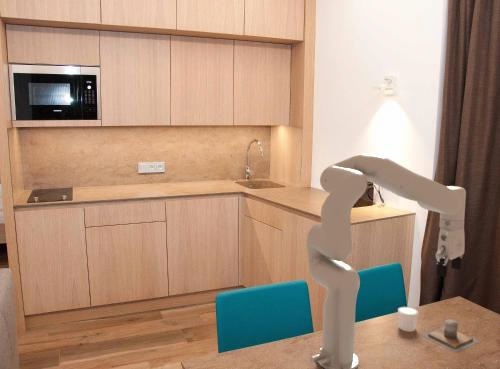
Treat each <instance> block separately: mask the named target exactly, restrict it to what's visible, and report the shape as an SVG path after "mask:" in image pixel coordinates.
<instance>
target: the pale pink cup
mask: <svg viewBox="0 0 500 369" xmlns="http://www.w3.org/2000/svg"><path fill="white" fill-rule="evenodd" d="M418 316H419V311H418V310H417V309H416V308H414V307H410V306H401V307H398V308H397V318H398V319H397V320H398V328H399V330H401V331H404V332H415V331H416V329H417V324H418Z"/></svg>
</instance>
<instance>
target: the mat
mask: <svg viewBox="0 0 500 369" xmlns="http://www.w3.org/2000/svg"><path fill="white" fill-rule="evenodd" d="M444 327H445V325H444V326H442V327H439V328H437V329H435V330H432V331H429V332H427V333H425V334H422V335H421V337H424V338H425V339H427V340H430V341H431V342H433V343H436V344H438V345H440V346H442V347H444V348H446V349H448V350H450V351H452V352H454V353H458V352H460V351H462V350H465V349H466V348H469V347H470V346H473V345H475V344H477V343H479V342H480V340H477V339H475V338H473V341H471V342H469V343H467V344H464V345H462V346H460V347H458V348H455V349H454V348H452V347H450V346H448V345H446V344H443V343H441V342H439V341H437V340H435V339H433V338H431V337H429V336H428V334H429V333H432V332H434V331H437V330H439V329H442V328H444Z"/></svg>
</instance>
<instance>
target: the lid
mask: <svg viewBox="0 0 500 369" xmlns="http://www.w3.org/2000/svg"><path fill="white" fill-rule="evenodd" d="M444 326H445V327H444ZM444 326H443V327H444V328H442V327H441V328H442V329H439V328H438V329H439V330H437V329H436V330H437V331H434V330H433V331H434V332H432V331H431V332H432V333H429V332H428V333H429V334H428V336H429V337H431V338H433V339H435V340H437V341H439V342H441V343H443V344H446V345H448V346H450V347H452V348H454V349H455V348H458V347H460V346H462V345H464V344H467V343H469V342H471V341H473V339H474V338H472V337H470V336H468V335H465V334H464V333H461V332H459V331H458V326H459V323H458V321H456V320H453V319H446V320H444Z"/></svg>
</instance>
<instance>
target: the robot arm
mask: <svg viewBox="0 0 500 369" xmlns="http://www.w3.org/2000/svg"><path fill="white" fill-rule="evenodd" d="M368 182H370V183H372V184H374V185H376V186H379V187H380V188H382V189H385V190H387V191H388V192H390V193H392V194H395V195H396V196H398V197H400V198H403V199H407V200H410V201H414V202H416V203H417V204H418V205H419V207H421V208H423V209H424V210H427V211H430V212H431V211H432V212H436V213H439V224H438V225H439V226H438V227H439V228H440V229H439V233H438V241H437V251H436V253H435V260H436V275H437V276H440V277H443V278H446V277H448V265H447V264H448V262H449V260H451V263H450V264H451V265H450V266H451V267H450V268H451V269H454V270H457V271H461V270H462V262H463V261H462V259H463V255H464V254H465V247H466V246H465V245H466V244H465V243H466V242H465V238H466V236H465V213H466V212H465V211H466V198H467V191H466V189H465V188H464V187H461V186H457V185H456V186H455V185H449V186H448V185H447V186H446V185H444V184H442V183H440V182H437V181H435V180H432V179H430V178H428V177H426V176H423V175H421V174H419V173H417V172H414V171H413V170H410V169H408V168H406V167H404V166H402V165H401V164H398V163H397V162H395V161H393V160H391V159H390V158H388V157H386V156H382V155H379V154H371V153H370V154H369V153H360V154H356V155H353V156H350V157H348V158H346V159H343V160H341V161H338V162H336V163H333V164H331V165H329V166H327V167H325V169H324V170H323V171H322V172H321V174H320V179H319V183H320V186H321V188H322V189H323V190H324V191H325V192H326V193H328V196H326V198H325V200H324V202H323V204H322V206H321V209H320V222H317V223H315V224H313V225H312V226H311V228H309V231H308V233H307V237H306V251H307V260H308V268H309V273H310V276H311V278H312V279H313V281H314V282H316V283H317V284H318V285H320V286H321V287H323V288H324V289H326V291H327V296H326V297H325V300H324V301H323V306H322V307H323V308H322V309H323V310H322V312H323V313H322V343H321V344H322V347H320V348H319V352H318V353H317V354H314V355H311V356H310V357H309V361H310V362H311V363H312V364H314V363H318V365H319V366H320V367H322V368H323V369H357V368H358V366H359V358H358V356H357V355H356V354H355V353H354V350H355V348H354V347H355V323H356V304H357V297H358V292H359V289H360V284H361V281H360V275H359V274H358V272H357V271H356V269H354V267H352V266H351V265H349V264H348V263H345V262H344V261H346V260H348V259H349V258H350V257H351V255H352V252H353V238H352V237H353V236H352V225H351V223H352V222H351V214H352V211H353V210H352V209H353V207H354V205H355V204H356V203H357V202H358V201H359V199H360V198H362V196H363V195H364V194H365V192H366V190H367V187H368Z"/></svg>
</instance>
